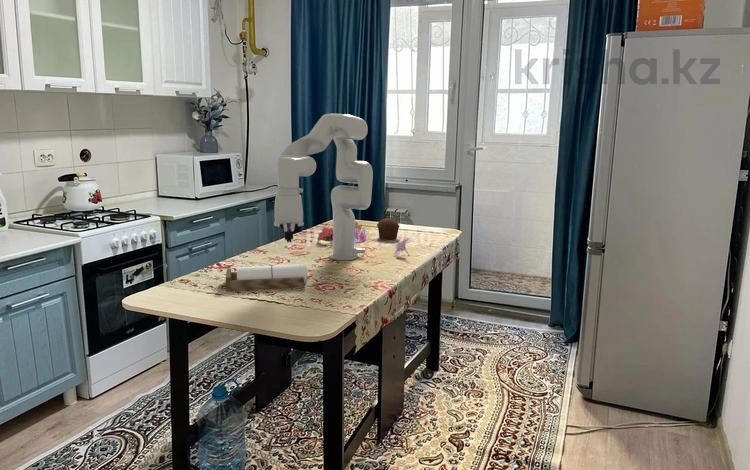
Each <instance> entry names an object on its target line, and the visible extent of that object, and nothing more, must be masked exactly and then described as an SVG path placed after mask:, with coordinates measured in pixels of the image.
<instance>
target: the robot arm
mask: <svg viewBox="0 0 750 470" xmlns="http://www.w3.org/2000/svg"><path fill="white" fill-rule="evenodd" d="M368 129H369V128H368V124H367V122H366V120H364V119H363V118H360V117H359V116H354V115H351V114H348V113H347V114H346V113H345V114H343V113H325V114H323V115H322V116H321V117H320V118H319V119H318V121H317V122H316V123H315V124H314V126H313V128H311V130H310V131H309V133H308V134H307V135H304V136H303V137H301V138H298V139H297V140H295V141H293V142H291V143H290V144H289V145H288V146H287V147H285V149H284V150H283V152H282V153H281V154H280V156H279V157H278V159H277V194H276V195H275V199H274V213H273V214H274V218H273V219H274V222H273V225H274V227H278V228H281V229H282V230H283V231H284V240H285V241H286V242H287V243H292V240H294V231H295V230H296V229H297V228H298V227H303V226H304V224H305V223H304V209H303V208H304V207H303V198H302V195H301V193H304V188H301V187H300V177H309V176H312V175H313V174H314V173H315V172H316V169H317V162H316V160H315V159H314V158H313V157H311V156H309V155H314V154H319V153H321V152H323V151H325V150H327V147H328V146H329V144H330V143H331V142H332V140H333V142H334V144H335V146H336V163H335V176H336V177H335V178H336V179H337V180H338V181H339V182H340V183H341V182H342V183H348V184H349V183H350V184H357V186H353V185H352V186H351V185H337V186H335V187H333V188H332V189H331V193H330V201H331V206H332V228H333V246H332V252H329V255H328V258H329V259H332V260H334V261H345V262H346V261H353V260H356V259H358V257H359V254H365V253H366V249H365V248H361V247H356V246H355V245H356V243H355V221H356V217H355V214H354V212H353V210H360V211H361V210H362V211H363V210H367V209H369V207H370V205H371V202H372V193H373V179H374V178H373V177H374V175H373V174H374V173H373V166H372V165H371V164H370V163H369V162H368V161H365V160H358V157H357V156H358V148H357V145H356V143H355V141H354V140H356V141H360V140H361V141H362V140H363V139H364V138H366V136H367V135H368V132H369V131H368ZM287 224H290V226H289V227H290V228H288V225H287Z"/></svg>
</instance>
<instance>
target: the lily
mask: <svg viewBox="0 0 750 470" xmlns="http://www.w3.org/2000/svg"><path fill="white" fill-rule="evenodd" d="M410 239H411V237H408V238H407V236H405V237H404V238H403V239H402V241H401V242H400V241H398V242H396V243H395V245H394V246H395V249H396V250H395V251H394V253H393V256H395V260H396V259H397V258H398V257H399V255H400V254H401V252H406V253H407V255H408V256H410V254H409V253H408V251H407V248H406V245H407V243H408V242H409V240H410ZM397 260H398V259H397Z"/></svg>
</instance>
